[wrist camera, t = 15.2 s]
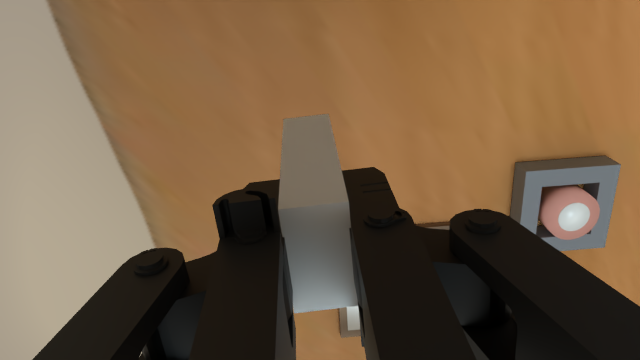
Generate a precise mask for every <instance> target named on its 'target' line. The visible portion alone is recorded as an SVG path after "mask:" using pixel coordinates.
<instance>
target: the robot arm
mask: <svg viewBox="0 0 640 360" xmlns="http://www.w3.org/2000/svg"><path fill="white" fill-rule="evenodd" d="M213 210H214V215H215V219H216V224H217V228H218V233H219V238H220V240H219V244H218V248H217V251H216V252H214V253H212V254H210V255H207V256H204V257H202V258H198V259H195V260H192V261H188V262H185V260H184V257H183V254H182V252H180V251H178V250H177V249H172V248H154V249H150V250H149V251H148V250H146V251H143V252H141V253H140V254H138V255H136V256H134V257H132V258H130V259H129V260H128V261H126V262H125V263H124V264H123V265H122V266H121V267H120V268H119V269H118V270H117V271H116V272H115V273H114V274H113V275H112V276H111V277H110V278H109V280H107V282H105V283H104V285H103V286H102V287H101V288H100V289H99V290H98V291H97V292H96V293H95V294H94V295H93V296H92V297H91V298H90V299H89V300H88V302H87V303H86V304H85V305H84V306H83V307H82V308H81V309H80V310H79V311H78V312H77V313H76V314H75V315H74V316H73V317H72V319H70V320H69V322H68V323H67V324H66V325H65V326H64V327H63V328H62V329H61V330H60V331H59V332H58V333H57V334H56V335H55V336H54V338H52V340H51V341H50V342H49V343H48V344H47V345H46V346H45V347H44V348H43V349H42V350H41V351H40V352H39V353H38V354H37V355H36V356H35V358H34V359H33V360H296V328H295V321H294V315H293V308H294V313H301V312H309V311H318V310H327V309H335V308H344V307H352V306H358V309H359V320H360V331H361V342H362V347H363V346H364V348H365V353H366V359H367V360H640V307H639V306H638V305H637V304H635V303H634V302H632V301H631V300H629V299H628V298H626V297H625V296H624V295H622V294H621V293H619V292H618V291H616V290H615V289H613V288H612V287H611V286H609V285H608V284H606V283H605V282H603V281H602V280H600V279H599V278H598V277H596V276H595V275H593V274H592V273H590V272H589V271H587V270H586V269H585V268H583V267H582V266H580V265H579V264H577V263H576V262H574V261H573V260H572V259H570V258H569V257H567V256H566V255H564V254H563V253H561V252H560V251H559V250H557V249H556V248H554V247H553V246H551V245H550V244H548V243H547V242H546V241H544V240H543V239H541V238H540V237H538V236H537V235H536V234H534V233H533V232H531V231H530V230H528V229H527V228H525V227H524V226H523V225H521V224H520V223H518V222H517V221H515V220H514V219H512V218H511V217H509V216H507V215H505V214H503V213H500V212H496V211H491V210H489V209H483V210H481V209H474V210H469V211H464V212H461V213H459V214H456V215H455V216H454V217H453V218H452V219H451V220H450V225H449V230H446V229H432V228H425V227H421V226H417V225H415V224H414V221H413V219H412V217H411V216H410V215H409V213H408V212H407V211H405V210H403V209H400V208H399V206H398V204H397V202H396V199H395V197H394V195H393V192H392V190H391V188H390V185H389V183H388V181H387V178H386V176H385V174H384V173H383V172H381V171H380V170H378V169H376V168H375V167H370V168H361V169H353V170H344V171H342V170H341V166H340V161H339V157H338V153H337V148H336V144H335V140H334V136H333V131H332V127H331V123H330V118H329V114H322V115H314V116H305V117H297V118H288V119H284V120H283V137H282V153H281V169H280V179H279V180H270V181H261V182H253V183H249V184H248V185H247V186H246V187H245V188H244V189H241V190H236V191H233V192H230V193H228V194H225V195H223V196H222V197H220V198H218V199H217V200H216V201H215V203H214V204H213ZM141 352H142V354H141ZM140 354H141V356H140ZM139 356H140V357H139Z"/></svg>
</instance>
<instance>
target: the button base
mask: <svg viewBox="0 0 640 360" xmlns="http://www.w3.org/2000/svg"><path fill="white" fill-rule="evenodd" d="M620 166H621V164H619V163H617V162H616V161H614V160H612V159H611V158H609V157H607V156H594V157H581V158H568V159H555V160H541V161H528V162H515V172H514V182H513V191H512V201H511V210H510V217H511V218H512V219H514V220H515V221H517V222H518V223H520V224H521V225H523V226H524V227H525V228H527V229H528V230H530V231H531V232H533V233H534V234H536V235H537V236H538V237H540V238H541V239H543V240H544V241H546V242H547V243H548V244H550V245H551V246H553V247H554V248H556V249H557V250H559V251H566V250H578V249H591V248H603V247H605V243H606V238H607V233H608V227H609V222H610V217H611V212H612V207H613V202H614V197H615V192H616V186H617V181H618V176H619V171H620ZM574 184H584V189H583V190H584V191H586V192H587V193H588V194H590V195H591V196H592V197H594V198H595V199H596V200H597V202H598V204H599V208H600V214H599V218H598V221H597V223H596V224H595V226H594V227H593V228H592V229H591V230H590V231H589V232H588V233H587V234H585V235H583V236H581V237H579V238H576V239H572V240H563V239H560V238H557V237H555V236H554V235H553V234H552V233H551V232H550V231H549V230H548V229H547V228H546V227H545V226H544V225H542V226H537V222H538V214H539V207H540V199H541V191H542V187H548V186H561V185H574Z"/></svg>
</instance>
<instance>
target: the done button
mask: <svg viewBox="0 0 640 360" xmlns="http://www.w3.org/2000/svg"><path fill="white" fill-rule="evenodd" d="M599 214H600V208H599V204H598V202H597V200H596V199H595V198H594V197H592V196H591V195H590V194H588V193H587V192H586V191H584V190H583V189H582V188H580V187H579V186H578V185H577V184H574V185H561V186H548V187H544V188H543V189H542V191H541V199H540V207H539V214H538V220H539V221H540V222H541V223H542V224H543V225H544V226H545V227H546V228H547V229H548V230H549V231H550V232H551V233H552V234H553V235H554V236H555V237H557V238H560V239H563V240H572V239H576V238H579V237H581V236H583V235H585V234H587V233H588V232H589V231H590V230H591V229H592V228H593V227H594V226H595V224H596V223H597V221H598V218H599Z"/></svg>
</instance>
